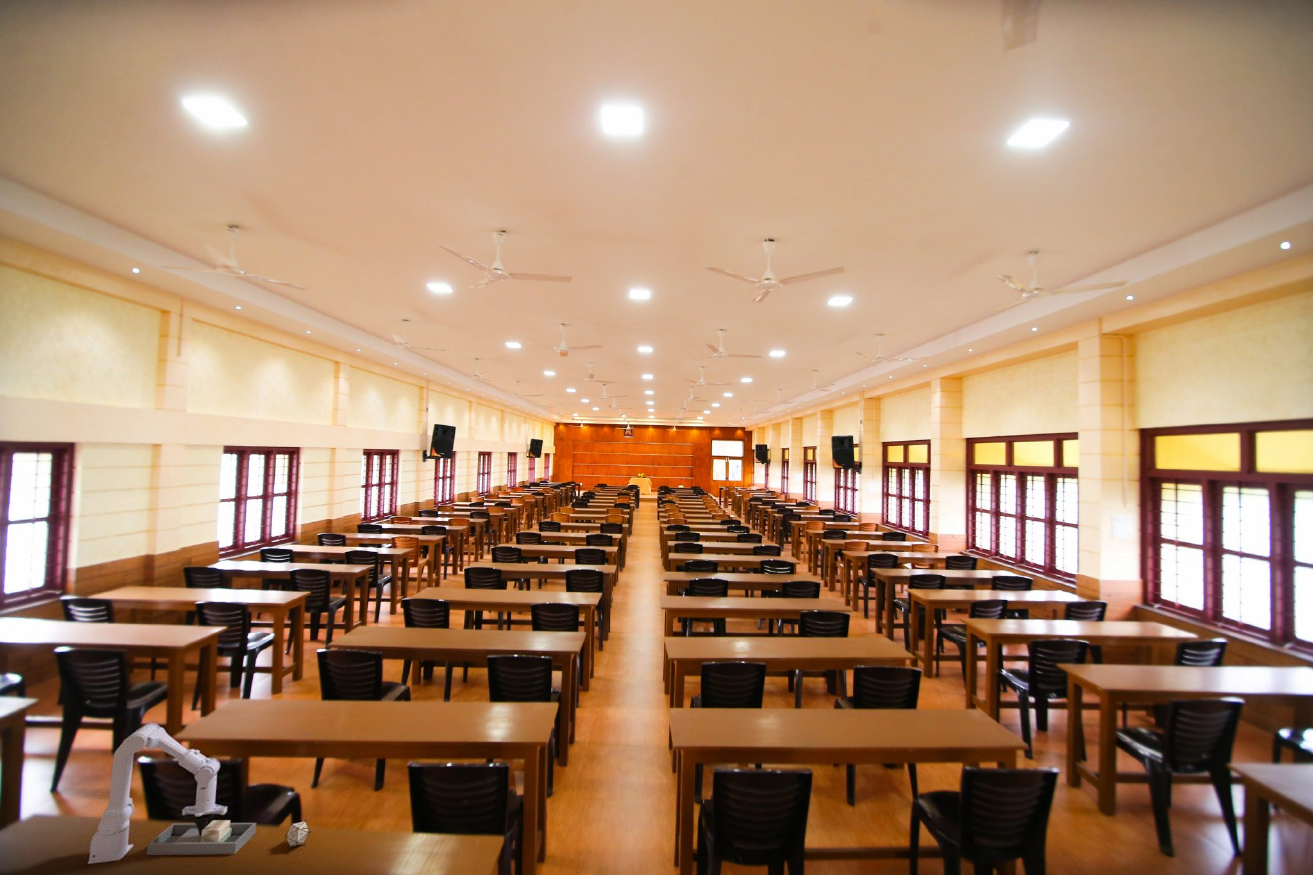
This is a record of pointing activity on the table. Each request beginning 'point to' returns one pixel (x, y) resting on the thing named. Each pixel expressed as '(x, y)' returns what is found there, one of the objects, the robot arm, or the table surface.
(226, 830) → the cream block
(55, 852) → the table surface
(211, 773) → the robot arm
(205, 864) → the table surface
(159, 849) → the gray tray
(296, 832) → the game die
